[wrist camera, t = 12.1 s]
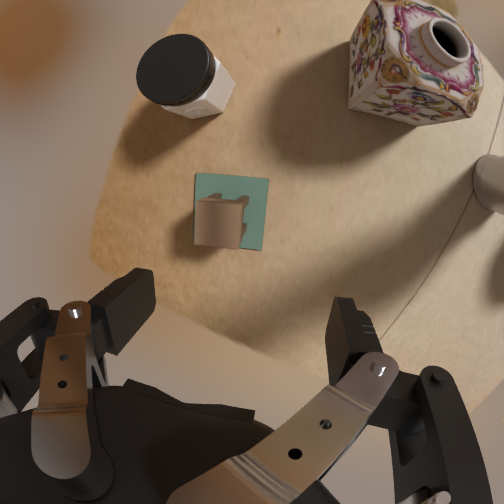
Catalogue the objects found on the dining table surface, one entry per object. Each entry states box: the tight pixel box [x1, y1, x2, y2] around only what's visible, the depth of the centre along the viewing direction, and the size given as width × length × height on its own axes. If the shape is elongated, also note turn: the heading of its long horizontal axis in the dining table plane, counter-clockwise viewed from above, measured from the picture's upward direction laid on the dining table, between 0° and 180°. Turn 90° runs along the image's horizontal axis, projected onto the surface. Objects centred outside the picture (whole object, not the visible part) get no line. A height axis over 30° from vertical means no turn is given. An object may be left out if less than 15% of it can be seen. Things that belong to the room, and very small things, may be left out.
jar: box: [136, 34, 236, 119], centre depth 26 cm, size 9×8×12 cm
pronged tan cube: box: [194, 193, 249, 250], centre depth 33 cm, size 5×5×8 cm
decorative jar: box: [348, 0, 484, 127], centre depth 20 cm, size 12×12×18 cm
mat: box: [193, 173, 269, 250], centre depth 37 cm, size 10×10×1 cm
